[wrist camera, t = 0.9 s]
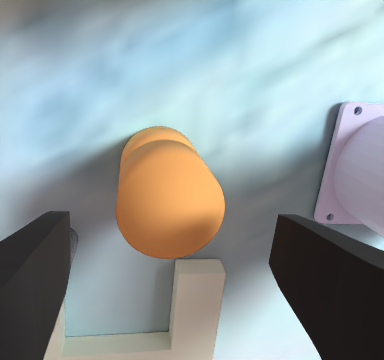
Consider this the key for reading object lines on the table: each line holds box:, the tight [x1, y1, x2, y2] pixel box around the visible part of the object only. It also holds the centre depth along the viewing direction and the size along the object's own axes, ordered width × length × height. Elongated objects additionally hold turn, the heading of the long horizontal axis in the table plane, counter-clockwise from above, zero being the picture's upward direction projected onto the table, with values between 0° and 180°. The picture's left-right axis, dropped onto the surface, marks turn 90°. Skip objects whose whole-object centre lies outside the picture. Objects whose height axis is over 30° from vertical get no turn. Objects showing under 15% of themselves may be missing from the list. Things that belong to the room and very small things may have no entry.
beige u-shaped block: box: [43, 259, 226, 360], centre depth 22 cm, size 12×9×2 cm
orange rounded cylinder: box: [116, 126, 225, 259], centre depth 16 cm, size 4×4×6 cm
